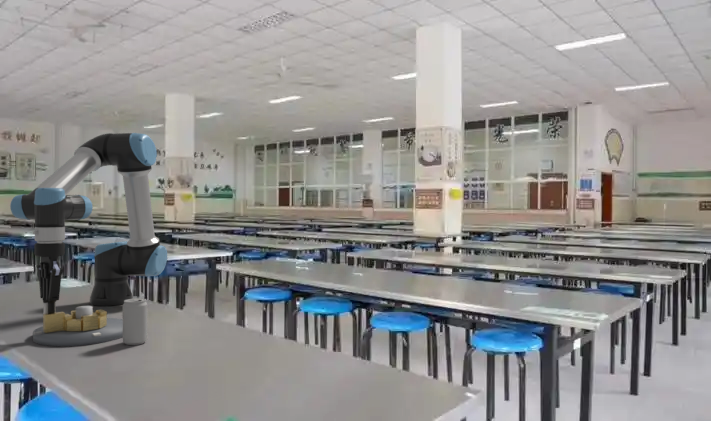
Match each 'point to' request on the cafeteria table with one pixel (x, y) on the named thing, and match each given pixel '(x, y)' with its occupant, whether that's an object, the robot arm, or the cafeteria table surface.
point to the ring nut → (74, 321)
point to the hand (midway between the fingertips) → (49, 324)
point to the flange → (81, 332)
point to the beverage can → (134, 321)
